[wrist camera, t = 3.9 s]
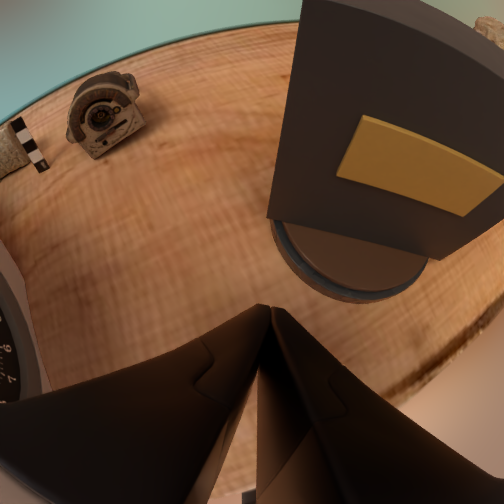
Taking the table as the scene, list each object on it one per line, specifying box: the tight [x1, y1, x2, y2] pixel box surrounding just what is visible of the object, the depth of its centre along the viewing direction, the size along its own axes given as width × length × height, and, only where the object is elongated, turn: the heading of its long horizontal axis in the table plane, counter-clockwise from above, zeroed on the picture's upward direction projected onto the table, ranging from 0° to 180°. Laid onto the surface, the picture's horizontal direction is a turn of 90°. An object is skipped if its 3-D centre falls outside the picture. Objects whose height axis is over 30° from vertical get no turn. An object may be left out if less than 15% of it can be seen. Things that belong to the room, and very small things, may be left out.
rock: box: [473, 16, 504, 50], centre depth 31 cm, size 18×16×15 cm
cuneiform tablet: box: [0, 116, 50, 179], centre depth 21 cm, size 7×4×12 cm
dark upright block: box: [266, 0, 504, 292], centre depth 14 cm, size 13×14×16 cm
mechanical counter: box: [66, 71, 146, 159], centre depth 23 cm, size 7×13×10 cm
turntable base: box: [270, 219, 429, 304], centre depth 22 cm, size 14×14×2 cm
